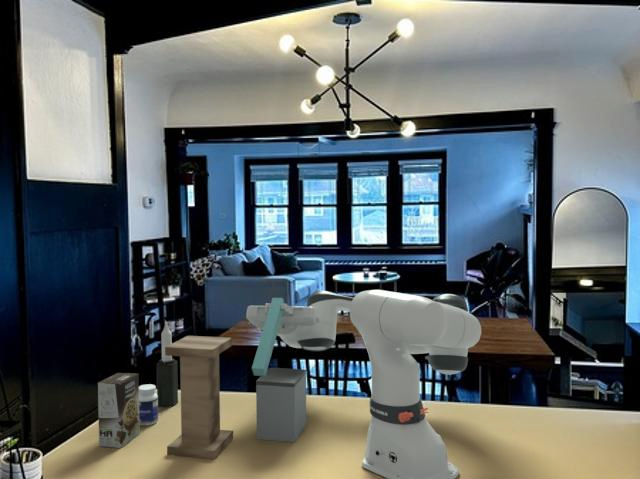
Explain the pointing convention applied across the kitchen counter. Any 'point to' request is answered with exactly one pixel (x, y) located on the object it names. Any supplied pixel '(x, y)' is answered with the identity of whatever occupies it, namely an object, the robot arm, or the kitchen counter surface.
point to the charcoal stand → (281, 404)
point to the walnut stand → (199, 397)
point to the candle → (167, 374)
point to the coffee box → (118, 409)
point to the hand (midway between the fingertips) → (275, 305)
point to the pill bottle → (148, 405)
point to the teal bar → (268, 338)
